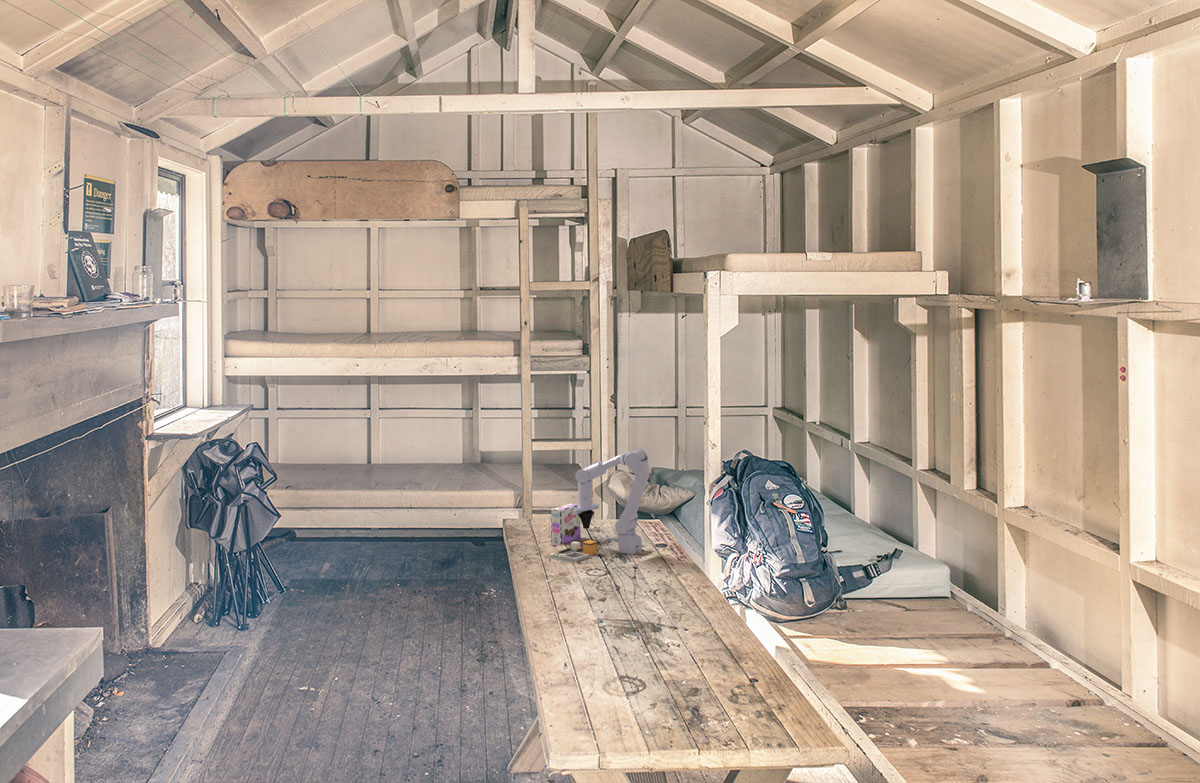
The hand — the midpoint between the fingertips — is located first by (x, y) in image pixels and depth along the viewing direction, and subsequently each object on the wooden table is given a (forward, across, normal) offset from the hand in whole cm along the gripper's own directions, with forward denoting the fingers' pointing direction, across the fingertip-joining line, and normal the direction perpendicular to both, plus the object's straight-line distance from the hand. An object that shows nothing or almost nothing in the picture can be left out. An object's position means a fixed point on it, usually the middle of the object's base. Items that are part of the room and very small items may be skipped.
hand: (586, 528), depth 396 cm
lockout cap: (+8, +8, +8) cm, 14 cm away
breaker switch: (+8, +7, 0) cm, 10 cm away
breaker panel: (+9, +13, +4) cm, 17 cm away
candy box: (+10, -3, -15) cm, 18 cm away
